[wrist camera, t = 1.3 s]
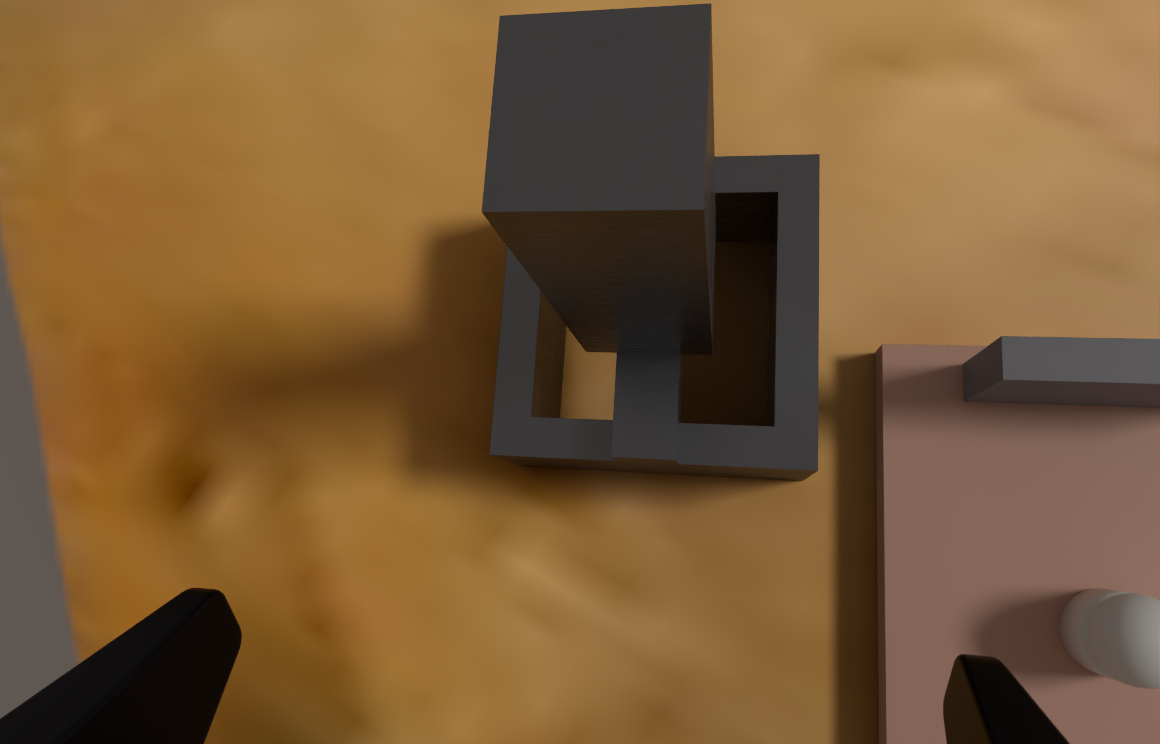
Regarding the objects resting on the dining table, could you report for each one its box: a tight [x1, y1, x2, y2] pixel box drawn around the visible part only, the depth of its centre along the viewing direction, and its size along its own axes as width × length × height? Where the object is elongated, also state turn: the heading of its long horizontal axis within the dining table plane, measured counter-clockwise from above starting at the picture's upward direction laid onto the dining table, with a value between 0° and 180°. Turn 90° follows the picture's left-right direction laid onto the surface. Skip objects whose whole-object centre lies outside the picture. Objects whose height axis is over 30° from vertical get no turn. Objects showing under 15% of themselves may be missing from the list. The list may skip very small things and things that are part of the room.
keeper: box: [875, 336, 1160, 744], centre depth 18 cm, size 14×10×4 cm
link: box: [482, 4, 819, 481], centre depth 17 cm, size 8×8×13 cm
